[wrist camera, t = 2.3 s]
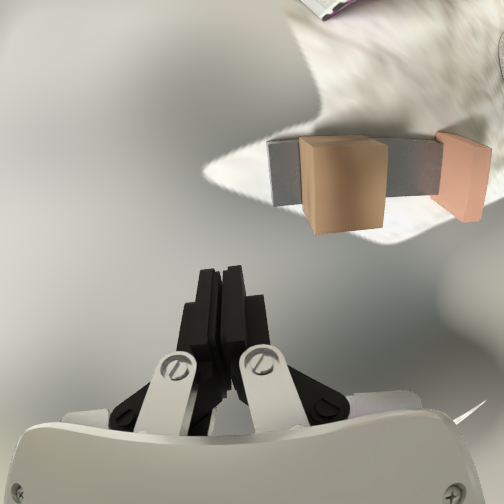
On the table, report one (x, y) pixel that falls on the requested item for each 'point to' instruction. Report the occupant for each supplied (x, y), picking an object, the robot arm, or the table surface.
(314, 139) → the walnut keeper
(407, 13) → the table surface
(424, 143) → the metal rail
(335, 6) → the candy bar box
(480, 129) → the table surface
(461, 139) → the block
